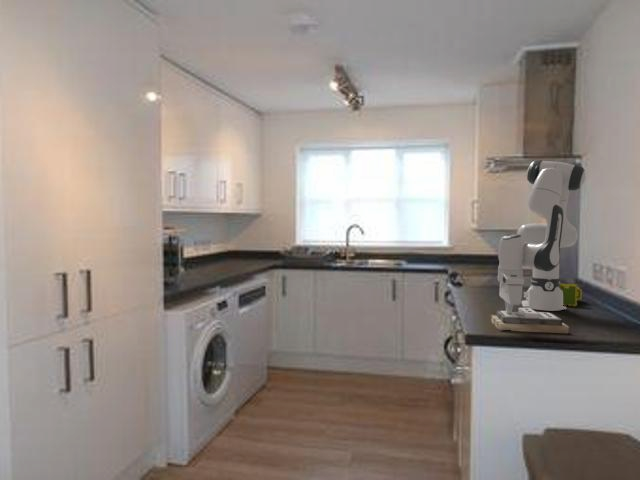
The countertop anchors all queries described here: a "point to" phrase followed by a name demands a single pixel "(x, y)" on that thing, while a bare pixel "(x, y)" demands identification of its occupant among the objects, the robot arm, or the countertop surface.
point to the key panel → (529, 324)
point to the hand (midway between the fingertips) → (508, 313)
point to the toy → (570, 294)
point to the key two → (528, 313)
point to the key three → (547, 315)
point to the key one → (508, 314)
